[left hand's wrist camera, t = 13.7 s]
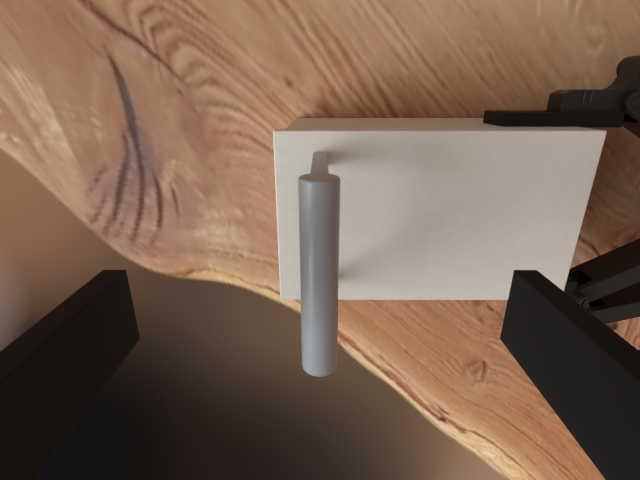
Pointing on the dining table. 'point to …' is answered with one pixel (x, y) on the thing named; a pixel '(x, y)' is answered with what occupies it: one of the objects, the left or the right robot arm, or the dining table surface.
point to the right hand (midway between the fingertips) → (479, 204)
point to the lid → (423, 216)
